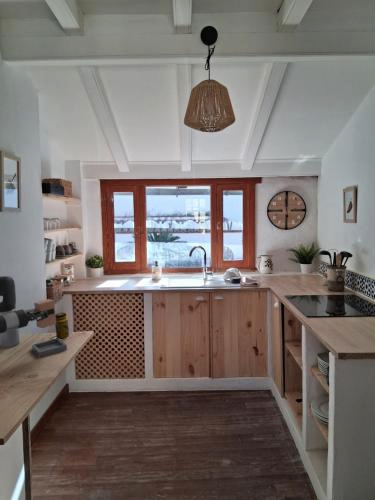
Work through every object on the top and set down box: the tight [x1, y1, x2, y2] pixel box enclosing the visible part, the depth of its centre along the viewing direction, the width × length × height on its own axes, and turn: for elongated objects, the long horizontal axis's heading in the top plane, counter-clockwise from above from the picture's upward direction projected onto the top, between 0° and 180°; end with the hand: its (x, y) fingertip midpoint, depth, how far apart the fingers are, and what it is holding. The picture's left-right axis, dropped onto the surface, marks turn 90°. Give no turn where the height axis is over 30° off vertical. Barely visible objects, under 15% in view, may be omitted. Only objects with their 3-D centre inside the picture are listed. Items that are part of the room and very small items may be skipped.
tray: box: [31, 338, 68, 358], centre depth 168 cm, size 12×12×2 cm
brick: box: [33, 298, 57, 329], centre depth 166 cm, size 4×7×11 cm, turn 141°
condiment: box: [50, 312, 73, 340], centre depth 183 cm, size 7×8×12 cm
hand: (50, 310), depth 168 cm, fingers closed on brick, 4 cm apart
